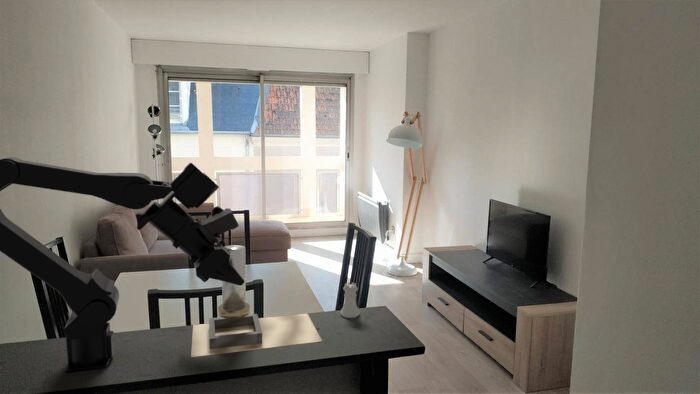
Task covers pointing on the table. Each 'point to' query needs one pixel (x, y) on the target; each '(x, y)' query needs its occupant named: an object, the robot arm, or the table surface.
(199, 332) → the carrier board
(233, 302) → the grey rounded piece
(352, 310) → the rook chess piece
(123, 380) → the table surface
